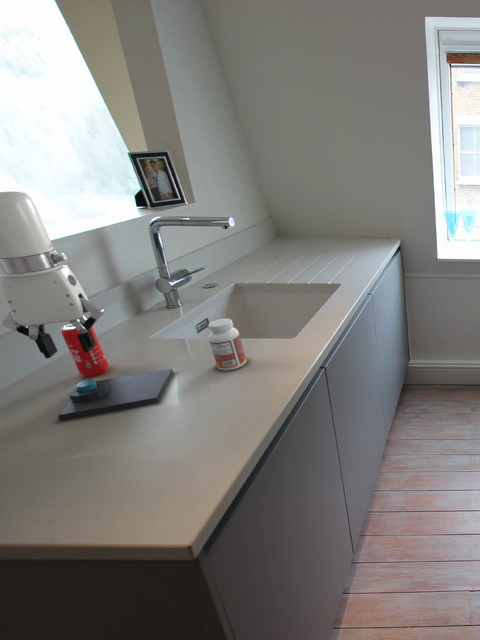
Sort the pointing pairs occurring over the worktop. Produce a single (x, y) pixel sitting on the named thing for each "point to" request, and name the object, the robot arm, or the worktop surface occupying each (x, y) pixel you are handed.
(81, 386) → the tare button
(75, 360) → the beverage can
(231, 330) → the pill bottle
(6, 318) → the robot arm
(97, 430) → the worktop surface
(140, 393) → the scale
